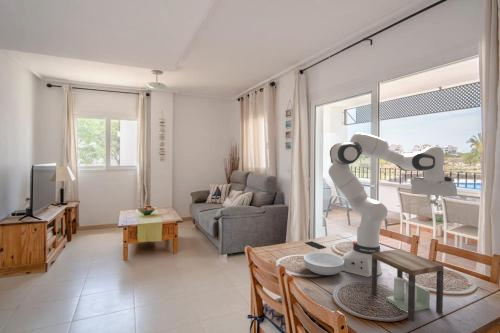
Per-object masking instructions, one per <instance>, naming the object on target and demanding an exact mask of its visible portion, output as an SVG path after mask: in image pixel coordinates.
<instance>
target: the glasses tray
mask: <svg viewBox="0 0 500 333" xmlns="http://www.w3.org/2000/svg"><path fill="white" fill-rule="evenodd" d="M430 297H431V290H429V289H427V288H424V287H423V286H420V285H419V284H416V283H415V312H417V311H422V310H426V309H430V308H431V306H430V305H431V304H430V303H431V302H430V299H431V298H430ZM388 301H389V302H388ZM386 302H388V303H390V302H391V303H392V304H391V303H390V304H391V305H393V304H394V305H396V306H397V307H396V306H395V307H396V308H398V307H399V308H401V309H403V310H405V311H408V280H405V279H404V277H403V278H399V277H397V276H395V277H393V295H391V296H386ZM394 305H393V306H394ZM399 308H398V309H399ZM401 309H400V310H401Z"/></svg>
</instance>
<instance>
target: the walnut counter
mask: <svg viewBox="0 0 500 333" xmlns="http://www.w3.org/2000/svg"><path fill="white" fill-rule="evenodd" d="M377 260H379V261H380V263H383V264H385V265H388V266H390V267H392V268H394V269H396V272H397V273H396V277H399V278H403V279H404V277H403V276H404V275H403V274H404V273H405V274H407V275H408V278H407V279H408V280H407V281H408V313H407V320H409V321H410V322H414V321H415V312H416V311H415V284H416V276H421V275H425V274H431V273H436V289H435V290H436V292H435V293H436V297H435V298H436V300H435V302H436V303H435V313H436V314H439V315H442V314H443V312H444V311H443V308H444V306H443V305H444V269H445V268H444V264H441V263H439V262H436V261H433V260H431V259H428V258H425V257H423V256H421V255H417V254H414V253H413V252H409V251H406V250H404V249H401V248H397V249H390V250H384V251H380V252H374V253H372V276H371V291H370V292H371V295H373V296H378V289H377V288H378V275H377ZM373 296H372V297H373Z"/></svg>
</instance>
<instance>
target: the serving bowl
mask: <svg viewBox="0 0 500 333" xmlns="http://www.w3.org/2000/svg"><path fill="white" fill-rule="evenodd" d="M342 258H343V257H340V256H338V255H335V254H333V253H326V252H310V253H306V254H305V255H304V256H303V262H304V265H305V267H306V268H307V269H308V270H309V271H311V273H314V274H317V275H320V276H321V275H322V276H331V275H336V274H338V273H340V272H342V271H341V270H342V269H343V266H344V260H343V259H342Z"/></svg>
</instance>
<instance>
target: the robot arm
mask: <svg viewBox="0 0 500 333" xmlns="http://www.w3.org/2000/svg"><path fill="white" fill-rule="evenodd" d="M389 148H390V147H389V143H388V141H387V140H385V139H384V138H381V137H379V136H375V135H372V134H367V133H365V132H364V133H363V132H356V133H355V134H353V135H352V137H351V138H350V141H349V142H341V143H335V144H334V145H332V146H331V148H330V150H329V157H330V163H331V164H332V165H331V166H330V167H329V169H328V175H329V177H330V179H331V180H332V182H333V183H334V185H335V186H336V187H337V189H338V190H339V191H340V192H341V194H342V195H343V196H344V197H345V198H346V200H347V202H348V203H349V206H350V207H351V209H352V211H353V212H354V213H355V214H356V215H357V216H359V217H361V218H360V222H359V226H358V227H357V228H356V240H355V241H353V242H352V248H351V250H349V251H346V252H345V253H344V254H343V256H342V257H341V258H342V259H343V260H344V266H343V269H342V270H341V271H340V272H344V273H345V272H346V273H349V274H354V275H357V276H361V277H362V276H363V277H366V278H369V277H372V253H374V252H381V245H380V230H381V228H382V224H383V221H384V220H386V218H387V216H388V212H389V211H388V208H387V206H385V205H384V203H382V202H381V201H380V200H377V199H374V198H371V197H370V196H369V195H368V193H367V192H366V189H365V186H364V185H363V183H362V182H361V180H360V179H359V178H358V177H357V176H356V175H355V173H354V172H353V171H352V170H351V167H350V165H351V164H354V163H356V161H357V160H358V159H359V158H360V156H361V155H364V156H366V157H370V158H373V159H379V160H384V161H386V162H390V163H391V164H394V165H395V166H396V167H398V168H399V169H400V170H401V171H403V172H411V171H412V172H422V171H423V176H414V177H412V178H410V186H411V187H410V193H411V194H413V195H426V198H427V199H428V204H433V205H437V201H438V199H439V198H440V196H443V197H454V198H455V197H456V196H457V195H458V189H457V184H456V183H455V178H454V177H452V176H449V175H445V174H444V173H445V170H444V165H445V155H444V154H445V153H444V150H443V148H441V147H436V146H427V147H425V148H424V149H422V150H421V151H417V152H413V153H410V152H408V153H407V152H406V153H399V152H397V151H394V150H392V149H389ZM431 196H434V198H435V199H431V198H430V197H431ZM382 274H383V270H382V265H381V261H379V260H377V276H380V275H382Z"/></svg>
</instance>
